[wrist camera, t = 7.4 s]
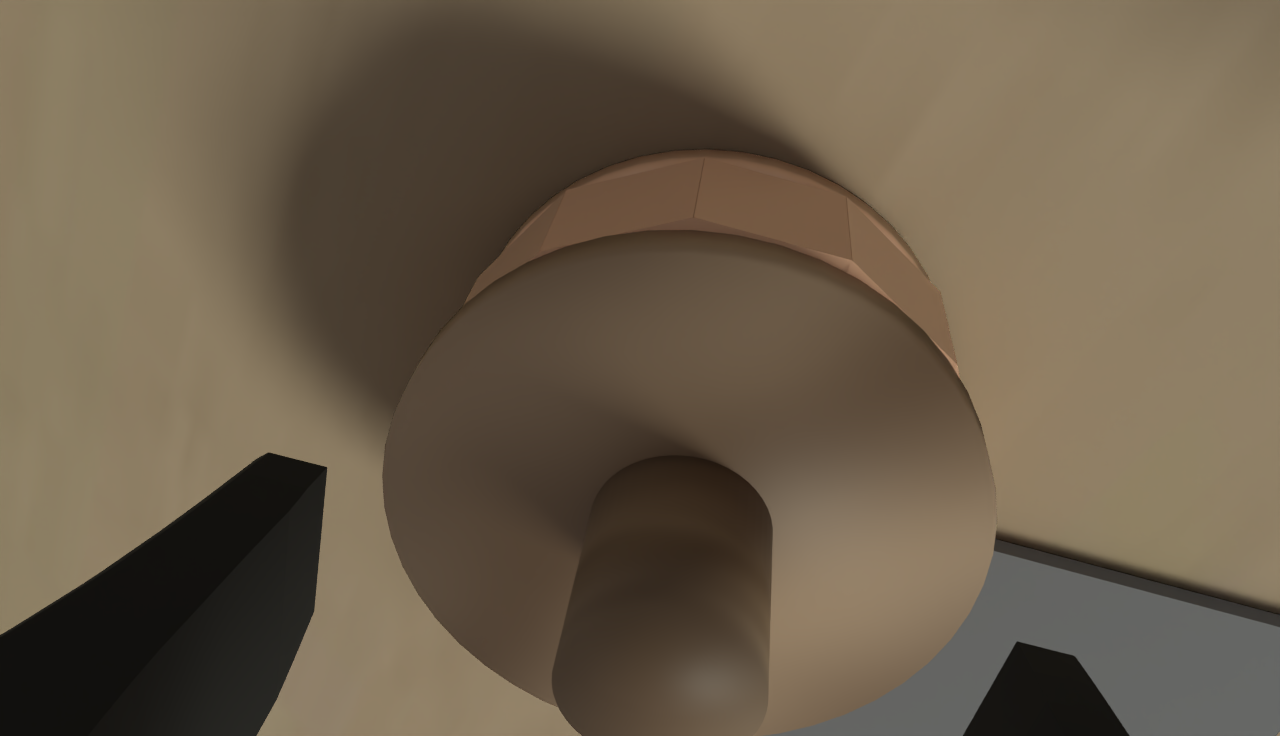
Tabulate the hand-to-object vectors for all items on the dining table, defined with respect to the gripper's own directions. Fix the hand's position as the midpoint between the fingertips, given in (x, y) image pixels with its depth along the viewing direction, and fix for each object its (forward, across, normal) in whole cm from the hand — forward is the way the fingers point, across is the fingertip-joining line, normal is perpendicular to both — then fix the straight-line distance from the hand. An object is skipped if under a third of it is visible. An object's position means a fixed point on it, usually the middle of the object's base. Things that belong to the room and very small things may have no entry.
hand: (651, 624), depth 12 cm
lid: (+7, -1, +4) cm, 8 cm away
